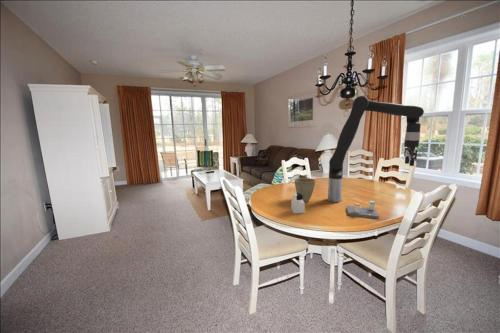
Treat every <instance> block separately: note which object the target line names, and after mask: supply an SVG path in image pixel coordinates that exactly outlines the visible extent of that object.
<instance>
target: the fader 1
mask: <svg viewBox="0 0 500 333" xmlns="http://www.w3.org/2000/svg"><path fill="white" fill-rule="evenodd" d="M354 207H355V209H354V211H355V212H357V213H359V207H361V205H360V202H354Z"/></svg>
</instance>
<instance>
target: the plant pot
mask: <svg viewBox="0 0 500 333" xmlns="http://www.w3.org/2000/svg"><path fill="white" fill-rule="evenodd" d="M315 184H316V180H315V179H314V178H312V177H311V178H310V177H298V178H294V187H295V191H296V193H301V194H302V195H303V201H304V202H305V203H308V202H310V200H311V198H312V195H313V193H314V189H315V186H316V185H315Z"/></svg>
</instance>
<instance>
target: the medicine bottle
mask: <svg viewBox="0 0 500 333" xmlns="http://www.w3.org/2000/svg"><path fill="white" fill-rule="evenodd" d="M292 195H293V196H292V198H293V199H291V203H290V204H291V207H290V208H291V211H292V213H293V214H306V212H305V210H306V208H305V206H306V202H304V201H303V195H302V194H301V193H297V192H296V193H293V194H292Z"/></svg>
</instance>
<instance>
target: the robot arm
mask: <svg viewBox="0 0 500 333" xmlns="http://www.w3.org/2000/svg"><path fill="white" fill-rule="evenodd" d="M365 112H374V113H375V112H376V113H380V114H386V115H391V116H395V117H396V116H399V117H406V128H405V134H404V143H403V147H404V154H403V157H404V158H405V159H404V164H407V165H408V164H409V167H414V166H415V160H417V157H418V149H416V148H419V147H420V138H421V122H420V118H421V117H423V115H424V112H425V110H424V108H423V107H421V106H418V105H409V104H407V105H406V104H400V103H395V102H393V103H392V102H382V101H381V102H380V101H374V100H371V99H370V100H369V99H368V98H367V97H366V96H364V95H359V96H357V97H356V98H354V100H353V102H352V107H351V110H350V113H349V116H348V117H347V119H346V121H345V123H344V125H343V127H342V129H341V132H340V134H339V137H338V140H337V143H336V144H337V145H336V148H335V150H334V152H333V155H332V156H330V158H329V163H328V164H329V165H328V168H329V169H328V185H327V186H328V188H327V202H332V203H341V202H342V194H343V168H344V161H345V158H346V155H347V152H348V151H349V149H350V147H351V146H352V143H353V141H354V139H355V138H356V137H355V136H356V135H357V133H358V132H357V131H358V129H359V126H360V122H361V120H362V117H363V115H364V114H365Z"/></svg>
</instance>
